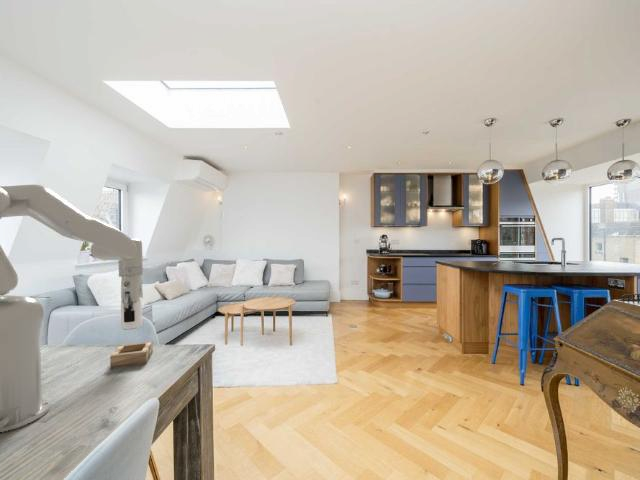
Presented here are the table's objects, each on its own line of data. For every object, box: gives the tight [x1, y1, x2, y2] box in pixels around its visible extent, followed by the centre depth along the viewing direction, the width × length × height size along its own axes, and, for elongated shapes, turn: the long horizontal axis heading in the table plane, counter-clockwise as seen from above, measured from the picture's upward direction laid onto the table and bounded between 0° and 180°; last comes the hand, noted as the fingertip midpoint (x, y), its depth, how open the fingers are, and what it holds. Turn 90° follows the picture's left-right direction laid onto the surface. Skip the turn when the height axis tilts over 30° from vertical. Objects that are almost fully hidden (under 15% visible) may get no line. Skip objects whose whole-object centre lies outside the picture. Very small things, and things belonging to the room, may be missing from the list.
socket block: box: [109, 341, 154, 370], centre depth 107 cm, size 11×11×4 cm
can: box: [120, 297, 143, 331], centre depth 106 cm, size 6×6×12 cm
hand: (132, 318), depth 107 cm, fingers closed on can, 6 cm apart
